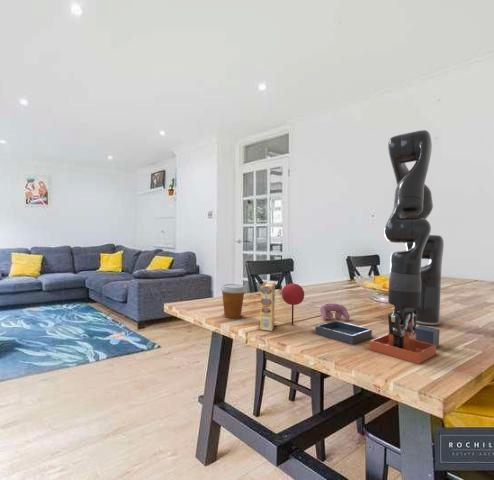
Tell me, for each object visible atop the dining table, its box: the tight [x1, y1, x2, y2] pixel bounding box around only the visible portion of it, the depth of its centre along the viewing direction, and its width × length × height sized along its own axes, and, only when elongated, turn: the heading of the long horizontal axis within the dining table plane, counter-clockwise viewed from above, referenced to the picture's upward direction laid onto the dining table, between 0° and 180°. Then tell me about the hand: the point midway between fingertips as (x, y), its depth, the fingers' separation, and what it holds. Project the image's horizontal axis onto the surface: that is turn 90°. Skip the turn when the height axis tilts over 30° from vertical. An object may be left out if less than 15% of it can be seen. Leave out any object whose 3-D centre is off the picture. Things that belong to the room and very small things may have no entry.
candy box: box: [259, 281, 276, 332], centre depth 115 cm, size 9×4×15 cm, turn 159°
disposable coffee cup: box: [220, 283, 246, 319], centre depth 129 cm, size 10×10×12 cm
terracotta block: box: [388, 330, 416, 352], centre depth 94 cm, size 5×5×5 cm
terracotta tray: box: [368, 333, 437, 365], centre depth 94 cm, size 12×12×3 cm
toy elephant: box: [319, 302, 350, 322], centre depth 128 cm, size 10×5×7 cm, turn 84°
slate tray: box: [314, 320, 373, 345], centre depth 108 cm, size 12×12×3 cm
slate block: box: [413, 324, 440, 348], centre depth 100 cm, size 5×5×5 cm
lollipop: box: [281, 283, 305, 326], centre depth 119 cm, size 8×8×15 cm
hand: (402, 347), depth 94 cm, fingers closed on terracotta block, 5 cm apart
